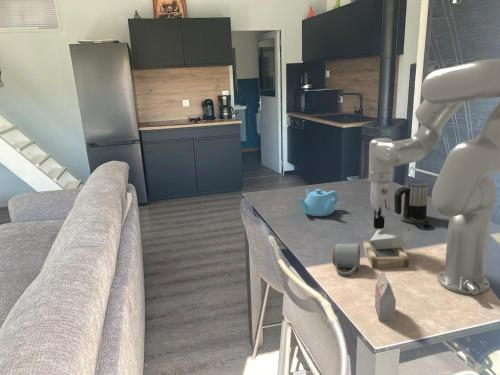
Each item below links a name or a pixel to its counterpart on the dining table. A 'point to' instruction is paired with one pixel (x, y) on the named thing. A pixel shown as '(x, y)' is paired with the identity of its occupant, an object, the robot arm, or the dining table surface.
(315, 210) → the teapot
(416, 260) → the dining table surface
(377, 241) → the skincare box
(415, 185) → the black and silver appliance
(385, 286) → the tea bag
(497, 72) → the robot arm
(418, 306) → the dining table surface
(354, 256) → the ceramic mug
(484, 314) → the dining table surface
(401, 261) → the wooden tray
